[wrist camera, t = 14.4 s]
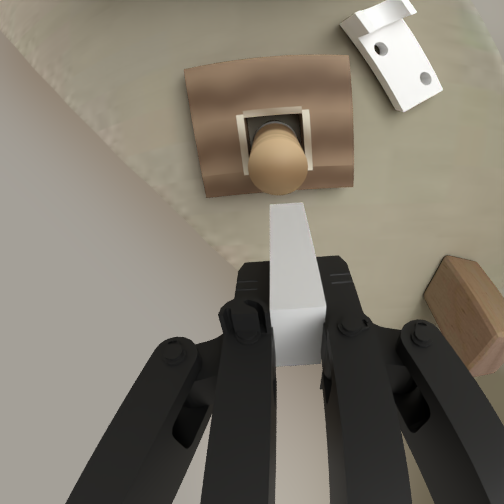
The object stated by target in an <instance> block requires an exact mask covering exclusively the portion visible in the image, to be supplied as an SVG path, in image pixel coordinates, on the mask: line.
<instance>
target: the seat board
mask: <svg viewBox="0 0 504 504" xmlns="http://www.w3.org/2000/svg"><path fill="white" fill-rule="evenodd" d="M184 75H185V81H186V87H187V94H188V100H189V106H190V112H191V117H192V123H193V129H194V135H195V140H196V146H197V151H198V157H199V162H200V167H201V172H202V178H203V183H204V188H205V193H206V198H210V197H219V196H228V195H239V194H249V193H261V192H263V191H261V190H260V189H259V188H257V187H256V186H255V185H254V183H253V182H252V180H251V178H250V176H249V173H248V161H249V157H250V153H251V147H250V139H249V131H248V123H247V118H248V117H257V116H268V115H281V114H297V113H299V123H300V136H301V148H302V150H303V152H304V154H305V156H306V158H307V162H308V172H307V176H306V178H305V180H304V182H303V183H302V185H301V186H300V187H299V188H298V189H296V190H302V189H319V188H340V187H353V180H354V133H353V105H352V88H351V74H350V63H349V55H286V56H271V57H259V58H250V59H241V60H234V61H227V62H220V63H214V64H209V65H203V66H198V67H193V68H188V69H184Z"/></svg>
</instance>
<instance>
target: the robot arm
mask: <svg viewBox="0 0 504 504" xmlns="http://www.w3.org/2000/svg"><path fill="white" fill-rule="evenodd" d="M218 316H219V320H220V323H221V327H222V330H223V334H222V335H221V336H219V337H217V338H215V339H213V340H210V341H207V342H203V343H199V344H194V343H193V342H192V341H191V340H190V339H187V338H184V337H173V338H170V339H167V340H165V341H163V342H162V343H160V344H159V346H158V347H157V348H156V349H155V350H154V352H153V354H152V355H151V357H150V358H149V360H148V362H147V363H146V365H145V366H144V368H143V370H142V372H141V373H140V375H139V376H138V378H137V380H136V381H135V383H134V384H133V386H132V388H131V390H130V391H129V393H128V395H127V396H126V398H125V399H124V401H123V403H122V404H121V406H120V408H119V409H118V411H117V413H116V415H115V416H114V418H113V420H112V422H111V423H110V425H109V426H108V428H107V430H106V432H105V433H104V435H103V437H102V439H101V440H100V442H99V444H98V446H97V447H96V449H95V451H94V453H93V454H92V456H91V458H90V460H89V461H88V463H87V465H86V467H85V469H84V471H83V472H82V474H81V476H80V478H79V480H78V481H77V483H76V485H75V487H74V489H73V491H72V492H71V494H70V496H69V498H68V500H67V502H66V504H172V502H173V500H174V498H175V496H176V494H177V491H178V489H179V487H180V485H181V483H182V480H183V478H184V476H185V474H186V472H187V469H188V467H189V465H190V463H191V461H192V458H193V456H194V454H195V451H196V449H197V447H198V445H199V442H200V440H201V438H202V435H203V433H204V431H205V429H206V426H207V424H208V422H209V419H210V417H211V415H212V420H211V427H210V434H209V442H208V449H207V456H206V464H205V472H204V479H203V487H202V495H201V503H200V504H275V477H276V409H277V404H276V403H277V401H276V400H277V399H276V398H277V392H276V391H277V387H276V386H277V384H276V383H277V381H276V367H278V366H294V365H295V366H296V365H310V364H320V363H321V359H322V367H323V372H322V379H321V385H320V389H323V397H324V409H325V420H326V432H327V447H328V463H329V482H330V483H329V484H330V504H412V499H411V490H410V482H409V475H408V468H407V462H406V456H405V450H404V444H403V439H402V434H401V431H402V433H403V435H404V437H405V439H406V441H407V444H408V446H409V448H410V450H411V452H412V454H413V456H414V458H415V460H416V463H417V465H418V467H419V469H420V471H421V474H422V476H423V478H424V480H425V482H426V485H427V487H428V489H429V492H430V494H431V496H432V498H433V501H434V503H435V504H504V426H503V424H502V423H501V421H500V419H499V417H498V416H497V414H496V412H495V411H494V409H493V407H492V406H491V404H490V403H489V401H488V399H487V398H486V396H485V394H484V393H483V391H482V390H481V388H480V387H479V385H478V384H477V382H476V381H475V379H474V378H473V376H472V375H471V373H470V372H469V370H468V369H467V367H466V366H465V364H464V363H463V362H462V360H461V359H460V357H459V356H458V355H457V353H456V352H455V350H454V349H453V348H452V346H451V345H450V344H449V342H448V341H447V340H446V338H445V337H444V336H443V334H442V333H441V332H440V330H439V329H438V328H437V327H436V326H435V325H433V324H432V323H430V322H428V321H425V320H413V321H410V322H408V323H407V324H405V325H404V327H403V328H402V330H397V329H390V328H384V327H380V326H378V325H376V324H373V323H372V321H371V320H370V318H369V317H367V316H366V315H365V314H364V313H363V311H362V308H361V304H360V301H359V298H358V295H357V292H356V289H355V286H354V283H353V280H352V277H351V275H350V271H349V268H348V265H347V263H346V262H345V261H344V260H343V259H342V258H341V257H340V256H339V255H338V256H324V257H316V255H315V250H314V246H313V242H312V237H311V233H310V229H309V225H308V221H307V217H306V213H305V209H304V205H303V202H301V203H285V204H271V205H270V261H263V262H247V263H244V265H243V266H242V267H241V269H240V270H239V271H238V277H237V284H236V291H235V298H234V299H233V300H231V301H229V302H227V303H226V304H225V305H224V306H223V307H222V308H221V309H220V312H219V314H218Z"/></svg>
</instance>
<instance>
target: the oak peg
mask: <svg viewBox="0 0 504 504" xmlns="http://www.w3.org/2000/svg"><path fill="white" fill-rule="evenodd" d="M307 172H308V162H307V158H306V156H305V154H304V152H303V150H302V148H301V146H300V144H299V141H298V139H297V136H296V134H295V132H294V130H293V129H292V128H291V127H290V126H289V125H287V124H286V123H283V122H281V121H277V120H272V121H268V122H266V123H264V124H263V125H261V126H260V127H259V128H258V129H257V131H256V132H255V135H254V138H253V145H252V149H251V153H250V157H249V161H248V173H249V176H250V178H251V180H252V182H253V183H254V185H255V186H256V187H257V188H259V189H260V190H261V191H263V192H265V193H268V194H271V195H285V194H289V193H291V192H293V191H295V190H296V189H298V188H299V187H300V186H301V185H302V183H303V182H304V180H305V178H306V176H307Z"/></svg>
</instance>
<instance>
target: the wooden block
mask: <svg viewBox="0 0 504 504" xmlns="http://www.w3.org/2000/svg"><path fill="white" fill-rule="evenodd" d="M424 299H425V300H426V302H427V304H428V306H429V308H430V310H431V312H432V314H433V316H434V318H435V320H436V322H437V324H438V326H439V328H440V331H441V333H442V334H443V336H444V337H445V338H446V340H447V341H448V342H449V344H450V345H451V346H452V348H453V349H454V350H455V352H456V353H457V355H458V356H459V357H460V359H461V360H462V362H463V363H464V364H465V366H466V367H467V369H468V370H469V372H470V373H471V375H472V376H473V377H477V376H482V375H488V374H492V373H495V372H496V370H497V369H498V368H499V367H500V366H501V365H502V364H503V363H504V298H503V296H502V295H501V293H500V292H499V291H498V289H497V288H496V286H495V285H494V284H493V282H492V281H491V280H490V278H489V277H488V276H487V274H486V273H485V272H484V270H483V269H482V268H481V267H480V265H479V264H478V263H477V262H475V261H471V260H466V259H462V258H457V257H453V256H445V257H444V258H443V260H442V262H441V264H440V266H439V268H438V270H437V272H436V273H435V275H434V277H433V279H432V281H431V282H430V284H429V286H428V288H427V289H426V291H425V293H424Z"/></svg>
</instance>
